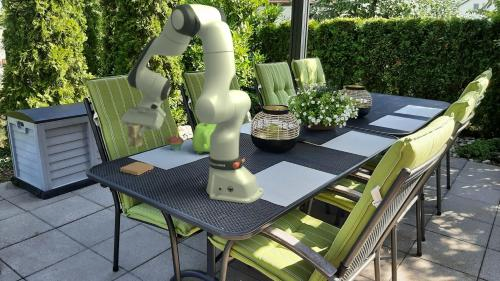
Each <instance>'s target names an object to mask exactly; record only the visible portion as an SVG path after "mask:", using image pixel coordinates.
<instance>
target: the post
mask: <svg viewBox="0 0 500 281" xmlns="http://www.w3.org/2000/svg"><path fill="white" fill-rule="evenodd" d="M126 127H127V131H128V134H127V138H128V139H127V141H128V146H129V147H134V148H137V147H139V146H143V135H142V136H141V137H140V136H137V132H138V131H140V130H141V129H142V128H141V125H137V124H132V125H128V126H126Z"/></svg>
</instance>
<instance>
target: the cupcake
mask: <svg viewBox="0 0 500 281" xmlns="http://www.w3.org/2000/svg"><path fill="white" fill-rule="evenodd" d="M175 134H176V135H174V136H170V137H168V138H167V140H166V144H168V145H169V147H170V149H172V150H171V151H173V150H178V151H181V149H182V146H183V144H184V139H183V138H182V137H181V136H179V135H178V134H179V128H176V133H175Z"/></svg>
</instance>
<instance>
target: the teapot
mask: <svg viewBox="0 0 500 281" xmlns="http://www.w3.org/2000/svg"><path fill="white" fill-rule="evenodd" d="M216 125H217V124H204V123H202V122H200V123H198V124H197V125H196V126H195V128H194V132H193V134H192V140H191V141H192V142H191V144H192V147H193V149H194V150H195V152H196V154H197V153H202V154H203V153H204V152H209V153H210V135H211V134H212V132H213V131H214V129H215V127H216Z"/></svg>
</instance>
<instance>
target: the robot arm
mask: <svg viewBox="0 0 500 281" xmlns="http://www.w3.org/2000/svg"><path fill="white" fill-rule="evenodd" d="M230 29H231V28H230V26H229V24H228V23H227V16H226V13H225V11H224V10H223V9H222V8H219V7H218V6H214V5H211V6H210V5H207V4H200V3H189V4H188V3H182V4H177V5H176V6H175V7H173V9H172V11H171V13H170V14H169V16H168V17H167V20H166V22H165V24H164V26H163V29H162V32H161V33H160V34H159V35H158V36H153V37H152V38H150V40H149V41H148V42H147V44H146V45H145V47H144V49H143V50H142V52H141V54H140V55H139V57H138V59H137V60H136V63H135V64H134V65H133V66H132V68H131V69H130V70H129V72H128V73H127V78H126V79H127V82H128V84H129V86H130V87H131V88H134V89H137V90H140V91H141V92H143V93H145V94H144V95H143V97H142V98H141V100H140V101H139V103H138V104H137V107H136V106H132V107H130V108H128V109H127V110H126V111H125V112H124V114H123V115H122V116H121V118H120V123H122V124H123V125H124V126H126V127H127V126H128V125H132V124H137V125H141V130H140V131H138V132H137V136H140V137H141V136H142V137H143V134H145V133H146V132H147V131H148V130H152V131H159V130H160V129H161V127H162V125H163V124H164V121H165V118H166V116H167V114H166V112H165V111H164V109H162V108H161V106H162V103H164V101H166V100H167V99H168V96H169V95H170V93H171V91H172V89H173V88H172V87H173V86H172V83H171V81H170V79H168V78H167V77H165V76H164V75H162V74H159V73H157V72H154V71H153V70H150V69H149V68H148V67H147V64H148V63H149V61H150V60H151V59H152V57H153V56H164V57H170V58H171V57H178V56H181V55H183V53H185V51H186V50H187V48H188V46H189V45H190V41H191V39H192V38H194V37H198V38H199V39H200V41H201V43H202V53H203V54H202V55H203V65H204V66H203V67H204V82H203V88H202V91H201V94H200V96H199V97H198V98H197V99H196V101H195V103H194V104H195V105H194V114H195V116H196V118H197V120H198V121H199V122H200V123H204V124H217V125H216V127H215V129H214V131H213V132H212V134H211V135H210V152H209V155H208V168H209V173H208V181H207V186H206V189H205V192H206V194H208V196H209V198H210V200H217V201H218V200H219V201H225V202H233V203H240V204H251V203H254V202H256V201H258V200H259V199H261V197H263V195H264V189H263V188H262V187H259V185H258V179H257V177H256V176H255V175H254V174H253V173H251V171H250V170H248V169H247V168H246V167H245V166H244V164H243V163H244V162H245V158H244V157H243V159H242V158H241V156H240V154H239V152H240V150H239V149H240V148H239V147H240V134H241V130H242V126H243V123H244V120H245V118H246V115H247V114H248V112H250V109H251V108H252V107H251V105H252V101H251V98H250V96H249V94H248V93H247V92H246V91H244V90H239V89H230V87H231V83H232V81H233V80H232V79H233V78H234V77H235V76H236V72H237V71H236V60H235V58H236V57H235V49H234V42H233V38H232V37H233V36H232V33H231V30H230ZM126 134H127V135H128V130H127V131H126Z"/></svg>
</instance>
